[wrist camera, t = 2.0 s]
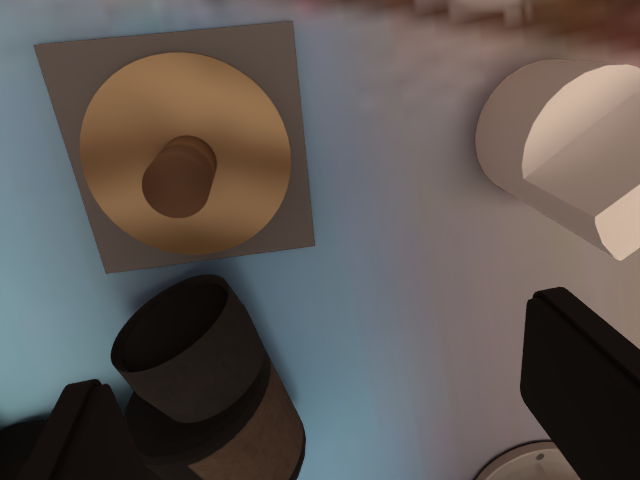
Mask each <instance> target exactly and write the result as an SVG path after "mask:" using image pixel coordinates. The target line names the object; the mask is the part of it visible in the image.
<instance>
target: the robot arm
mask: <svg viewBox="0 0 640 480" xmlns="http://www.w3.org/2000/svg"><path fill="white" fill-rule="evenodd" d="M520 391H521V396H522V398H523V401H524V403H525V404H526V406H527V407H528V408H529V410H530V411H531V412H532V414H533V415H534V417H535V418H536V419H537V421H538V422H539V423H540V425H541V426H542V427H543V429H544V430H545V431H546V433H547V434H548V436H549V437H550V438H551V440H552V441H553V442H539V443H532V444H528V445H525V446H521V447H519V448H516V449H514V450H511V451H509V452H507V453H505V454H504V455H502V456H500V457H499V458H497V459H496V460H494V461H493V462H492V463H491V464H489V465H488V466H487V467H486V468H485V469H484V470H483V471H482V472H481V473H480V475H479V476H478V477H477V479H476V480H640V349H638V348H637V347H636V346H635V345H634V344H632V343H631V342H630V341H629V340H628V339H626V338H625V337H624V336H623V335H621V334H620V333H619V332H618V331H617V330H615V329H614V328H613V327H612V326H611V325H609V324H608V323H607V322H606V321H605V320H603V319H602V318H601V317H600V316H598V315H597V314H596V313H595V312H594V311H592V310H591V309H590V308H589V307H588V306H586V305H585V304H584V303H583V302H582V301H580V300H579V299H578V298H577V297H575V296H574V295H573V294H572V293H571V292H569V291H568V290H567V289H565V288H564V287H556V288H551V289H546V290H541V291H537V292H535V293H534V295H533V298H532V299H530V300H528V302H527V306H526V319H525V332H524V344H523V357H522V369H521V382H520ZM16 480H148V475H147V469H146V466H145V464H144V462H143V460H142V457H141V455H140V453H139V451H138V448H137V446H136V444H135V441H134V439H133V437H132V435H131V432H130V430H129V428H128V426H127V423H126V421H125V419H124V417H123V414H122V412H121V410H120V408H119V405H118V403H117V401H116V398H115V396H114V394H113V392H112V389H111V388H110V386H109V385H108V384H103V385H102V384H101V382H100V381H99V380H98V379H92V380H87V381H82V382H77V383H72V384H68V385H67V386H66V387H65V388H64V389H63V391H62V393H61V395H60V397H59V399H58V401H57V403H56V405H55V407H54V409H53V411H52V413H51V415H50V417H49V419H48V421H47V423H46V425H45V427H44V429H43V431H42V433H41V435H40V437H39V439H38V441H37V443H36V445H35V447H34V449H33V451H32V453H31V455H30V457H29V459H28V461H27V462H26V463H25V464H24V466H23V467H22V469H21V470H20V472H19V474H18V476H17V478H16Z"/></svg>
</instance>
